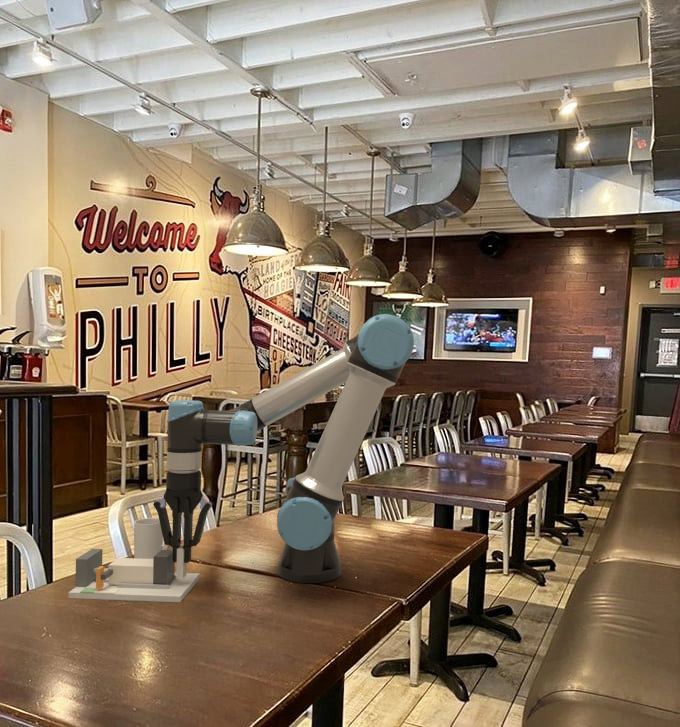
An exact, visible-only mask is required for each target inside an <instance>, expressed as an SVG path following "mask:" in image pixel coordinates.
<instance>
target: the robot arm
mask: <svg viewBox="0 0 680 727" xmlns="http://www.w3.org/2000/svg"><path fill="white" fill-rule="evenodd" d="M414 337H415V336H414V334H413V331H412V329H411V327H410V326H409V324H408V323H407V322H406V321H404V320H403V319H402V318H401V317H398V316H396V315H392V314H390V313H389V314H388V313H385V314H384V313H382V314H381V313H380V314H377V315H375V316H372V317H370V318H369V319H368V320H366V322H365V323H363V325H362V326H361V328H360V330H359V332H358V334H356V335H355V336H354V337H352V338H351V339H349V340H346V341H345V342H344V343H343V347H342V348H341V349H339V350H337V351H335V352H334V353H332V354H330V355H329V356H326V357H325V358H323V359H321V360H319V361H318V362H316V363H313V364H312V365H311V366H309V367H307V368H305V369H303V370H302V371H300V372H298V373H295V374H294V375H292V376H291V377H288V378H287V379H285V380H283V381H281V382H280V383H277V384H276V385H274V386H273V387H271V388H269V389H267V390H265V391H263V392H262V393H260V394H258V395H256V396H254V397H253V398H251V399H249V400H246V401H245V402H244V403H241V404H240V405H238V406H236V407H234V408H231V409H229V410H209V409H204V408H205V407H204V403H203V402H202V401H200V400H194V399H192V400H188V399H182V400H180V399H179V400H177V399H176V400H172V401H171V402H170V403H169V405H168V414H167V415H168V416H167V421H166V422H167V435H166V436H167V438H166V439H167V441H166V443H167V449H166V450H167V451H166V469H167V470H168V471H167V472H166V476H165V478H166V480H165V483H166V484H165V492H164V494H163V497H162V498H160V499H157V500H156V501H154V502H153V504H152V505H153V508H154V509H155V510H156V512H157V515H158V518H159V521H160V526H161V530H162V535H163V543H164V544H165V545H169V546H170V547H171V548H172V550H173V556H172V557H173V558H172V560H173V562H175V563H176V569H175V571H176V572H175V573H176V579H183V578H184V577H185V576H186V573H187V571H188V570H187V568H188V567H187V566H188V564H189V563H190V562H191V560H192V548H193V547H196V546H198V545H199V544H200V542H201V539H202V535H203V532H204V527H205V524H206V519H207V517H208V512H209V511H210V510H211V508H212V506H213V505H214V504H213V503H214V502H212V501H209V500H207V499H206V498H204V495H203V492H202V472H201V470H200V469H202V463H203V462H202V458H203V457H202V456H203V454H202V453H203V445H224V446H225V445H227V446H237V447H239V446H251V445H254V443H255V442H256V440H257V436H258V431H260V430H262V429H264V428H265V427H268V426H269V425H271V424H273V423H274V422H277V421H278V420H281V419H282V418H284V417H286V416H288V415H289V414H291V413H293V412H295V411H296V410H299V409H301V408H302V407H304V406H306V405H307V404H310V403H312V402H313V401H315V400H317V399H319V398H321V397H322V396H324V395H326V394H327V393H329V392H331V391H333V390H335V389H337V388H339V387H341V386H342V385H344V386H343V388H342V389H341V392H340V394H339V397H338V399H337V402H336V403H335V406H334V408H333V410H332V412H331V414H330V417H329V419H328V421H327V423H326V426H325V427H324V430H323V432H322V434H321V437H320V439H319V440H318V444H317V446H316V447H315V450H314V452H313V454H312V457H311V459H310V461H309V463H308V466H307V468H306V470H305V471H304V472H302V473H299V474H297V475H296V476H295V477H289V479H287V482H286V487H285V490H286V497H285V500H284V502H283V504H282V505H281V506H280V508H279V509H278V511H277V516H276V527H277V530H278V531H277V532H278V535H279V536H280V538H281V540H282V541H283V542H284V547H283V549H282V552H281V554H280V559H279V561H278V568H277V570H278V571H277V575H278V576H279V577H280V578H281V579H283V580H285V581H287V582H288V581H289V582H293V583H301V584H318V583H319V584H320V583H325V582H326V583H327V582H330V581H331V582H332V581H333V580H336V579H338V578H339V577H340V576H341V575H342V563H341V559H340V556H339V553H338V550H337V547H336V543H335V523H336V522H335V521H336V520H335V519H336V517H337V515H338V513H339V510H340V508H341V506H342V504H343V501H344V499H345V497H344V494H343V491H342V486H343V485H344V483H345V480H346V478H347V476H348V474H349V472H350V469H351V467H352V464H353V462H354V460H355V458H356V456H357V455H358V451H359V450H360V447H361V445H362V443H363V440H364V438H365V436H366V434H367V432H368V430H369V427H370V426H371V422H372V420H373V419H374V416H375V414H376V411H377V410H378V408H379V405H380V402H381V400H382V398H383V396H384V394H385V391H386V390H387V389H388V388H390V387H393V386H395V385H396V383H397V381H398V379H399V378H400V376H401V373H402V370H403V369H404V367H405V365H406V362H407V361H408V360H409V359H410V358H411V355H412V354H413V351H414V348H415V346H414V345H415V343H414V342H415V339H414ZM199 504H200V506H199V509H200V511H199V515H198V518H197V522H196V526H195V529H194V533H193V526H194V524H193V521H194V519H193V517H194V510H195V509H196V508H197V507H198V505H199ZM167 505H168V507H169V509H170V511H172V512H171V513H172V514H171V517H172V528H171V525H170V524H171V523H170V518H169V515H168V514H169V513H168V510H167ZM182 514H183V516H182ZM182 517H183V542H182ZM182 543H183V545H182ZM164 544H163V545H164ZM169 546H168V547H169ZM187 563H188V564H187Z"/></svg>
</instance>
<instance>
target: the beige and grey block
mask: <svg viewBox="0 0 680 727" xmlns="http://www.w3.org/2000/svg"><path fill="white" fill-rule="evenodd" d="M172 556H173V549H167V550H161V551H160V552H158V553H157V554H156V555H155V556H154V559H138V558H134V557H133V558H131V557H118V558H116V559H115V560H113V561H111V563H109V564H108V567H107V568H108V570H107V571H105V572H104V573H103V574H101V580H106V579H107V578H108V584H109V585H117V583H130V584H158V585H169V584H170V582H171V581H172V580H173V579H174V575H175V573H176V572H175V571H176V569H175V566H176V565H175V563H176V562H173V560H172V558H173V557H172Z"/></svg>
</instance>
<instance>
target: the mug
mask: <svg viewBox="0 0 680 727" xmlns="http://www.w3.org/2000/svg"><path fill="white" fill-rule="evenodd" d="M133 527H134V528H133V548H134V549H133V558H138V559H154V556H155V555H156V554H157V553H158V552H160V551H161V550H169V545H165V544H163V543H164V540H163V535H162V530H161V526H160V521H159V517H158V518H157V517H146V518H140V519H136V520H135V521H134V522H133Z"/></svg>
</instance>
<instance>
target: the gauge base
mask: <svg viewBox="0 0 680 727" xmlns="http://www.w3.org/2000/svg"><path fill="white" fill-rule="evenodd" d="M100 566H103V548H91V549H90V550H87V551H86V552H85V553H83V554H82V555H80V556H78V557H77V558H76V559H75V584H74V585H75V587H74V588H72V589H71V590H70V591H68V599H79V600H80V599H81V600H82V599H84V600H106V601H108V600H110V601H111V600H112V601H115V600H116V601H133V602H136V601H137V602H158V603H159V602H162V603H163V602H164V603H181V602H182V601H183V600H184V598H185V597H186V596H187V595H188V593H189V592H191V590H192V589H193V588H194V586H196V584H197V583H198V582H199V580H200V579H201V573H197V572H195V573H193V572H186V576H185V577H184V578H183V579H176V572H175V575H174V579H173V580H172V581H171V582H170V584H169V585H158V584H130V583H117V585H109V584H108V578H107V579H106V580H104V587H103V588H101V589H100V590H96V569H97V568H98V567H100ZM107 570H108V567H107V568H105V567H104V572H105V571H107Z"/></svg>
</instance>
